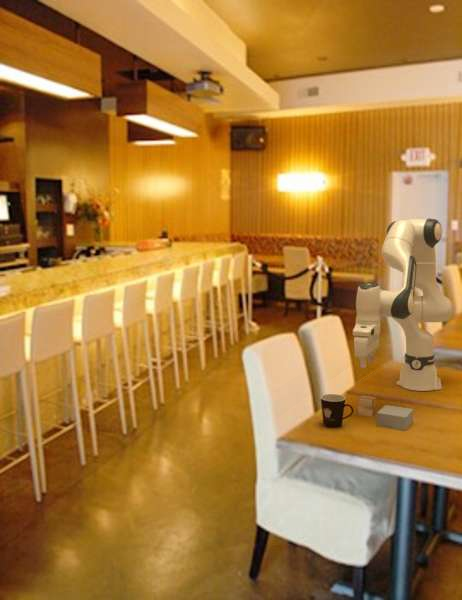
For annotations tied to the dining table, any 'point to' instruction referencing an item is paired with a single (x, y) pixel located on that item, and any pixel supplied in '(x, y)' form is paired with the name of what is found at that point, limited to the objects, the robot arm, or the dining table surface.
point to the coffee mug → (333, 410)
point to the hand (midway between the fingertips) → (367, 364)
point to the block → (395, 417)
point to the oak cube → (366, 406)
